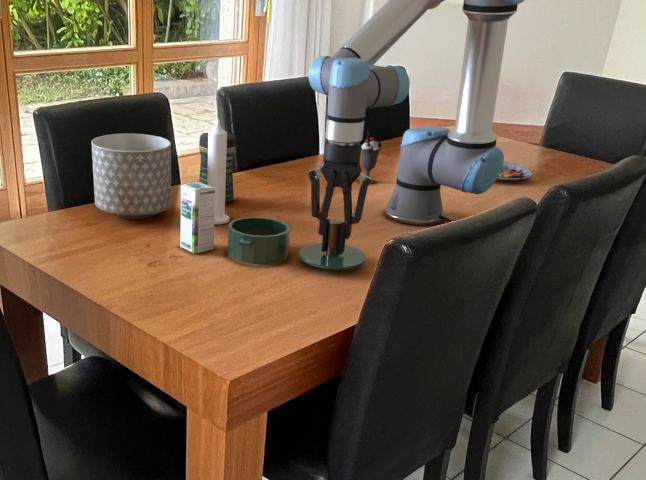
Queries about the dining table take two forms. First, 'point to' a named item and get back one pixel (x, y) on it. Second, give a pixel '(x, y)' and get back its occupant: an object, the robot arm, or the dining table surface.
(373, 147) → the sundae
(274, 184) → the dining table surface
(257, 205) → the dining table surface
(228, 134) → the coffee jar
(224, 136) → the white syringe
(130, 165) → the planter
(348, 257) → the pot lid
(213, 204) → the syrup box
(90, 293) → the dining table surface
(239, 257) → the pot
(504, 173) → the food plate
